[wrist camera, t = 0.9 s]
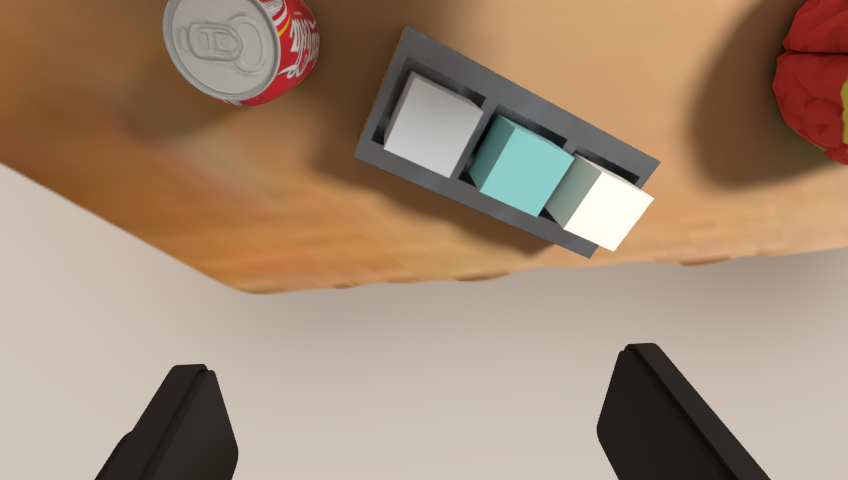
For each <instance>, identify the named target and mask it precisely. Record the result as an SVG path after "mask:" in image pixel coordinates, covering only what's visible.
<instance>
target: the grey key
mask: <svg viewBox="0 0 848 480" xmlns="http://www.w3.org/2000/svg"><path fill="white" fill-rule="evenodd" d="M482 114H483V111H482V110H481V109H480V108H479V107H478V106H476V105H475V104H474V103H473V102H472V101H471V100H469V99H467V98H465V97H464V96H462V95H460V94H458V93H456V92H454V91H452V90H450V89H448V88H446V87H444V86H442V85H440V84H438V83H436V82H434V81H432V80H430V79H428V78H426V77H424V76H422V75H420V74H418V73H416V72H415V71H413V70H411V71H410V74H409V76H408V78H407V80H406V83H405V85H404V87H403V90H402V92H401V94H400V97H399V99H398V101H397V104H396V106H395V108H394V110H393V113H392V115H391V117H390V120H389V122H388V124H387V127H386V129H385V131H384V149H385V150H387V151H389V152H391V153H394V154H396V155H398V156H400V157H403V158H405V159H407V160H409V161H412V162H414V163H416V164H418V165H421V166H423V167H425V168H427V169H430V170H432V171H434V172H436V173H439V174H441V175H443V176H445V177H448V178H449V177H450V175H451V173H452V172H453V170H454V168H455V166H456V164H457V162H458V160H459V158H460V156H461V154H462V152H463V151H464V149H465V147H466V145H467V143H468V141H469V139H470V137H471V135H472V133H473V131H474V130H475V128H476V126H477V124H478V122H479V120H480V118H481V116H482Z"/></svg>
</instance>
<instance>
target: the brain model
mask: <svg viewBox="0 0 848 480" xmlns="http://www.w3.org/2000/svg"><path fill="white" fill-rule="evenodd" d="M782 44H783V46H784V47H785V49H786V50H788V51H786V52H785V53H783V54H782V55H780V56H779V57H778V58H777V71H776V74H775V77H774V80H773V83H772V88H773V91H774V94H775V97H776V100H777V103H778V106H779V109H780V113H781V116H782V118H783V119H784V121H785V122H786V124H787V126H788V127H790V128H791V129H792V130H793V131H795V132H796V133H797V134H799V135H800V136H801V137H802V138H804V139H805V140H807V141H808V142H810V143H811V144H813V145H815V146H816V147H818V148H820V149H821V150H823V151H824V153H825V154H826V155H827V156H828V157H829V158H831V159H832V160H834V161H837V162H839V163H842V164H845V165H848V0H807V1H806V2H805V3H804V4H803V5H802V6H801V8H800V9H799V10H798V11H797V12H796V14H795V16H794V19H793V23H792V26H791V29H790V31H789V32H788V34H787V36H786V37H785V39H784V41H783V42H782Z"/></svg>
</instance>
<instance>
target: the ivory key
mask: <svg viewBox="0 0 848 480" xmlns="http://www.w3.org/2000/svg"><path fill="white" fill-rule="evenodd" d="M572 157H574V158H575V159H574V160H573V162H572V163H571V165H570V166H569V168H568V169H567V171H566V173H565V174H564V176H563V177H562V179H561V180H560V182H559V183H558V185H557V187H556V188H555V190H554V191H553V193H552V194H551V196H550V197H549V199H548V200H547V202H546V204H545V205H544V207H545V208H546V210H547V211H548V212H549V213H550V214H551V215H552V216H553V218H554V219H555V220H556V221H557V222H558V223H559V225H560V226H561V227H562V228H563V229H564V230H567V231H569V232H571V233H573V234H576V235H578V236H580V237H582V238H585V239H587V240H589V241H591V242H594V243H596V244H598V245H600V246H603V247H605V248H607V249H609V250H612V251H614V250H615V249H616V248H617V246H618V245H619V244H620V243H621V241H622V240H623V239H624V237H625V236H626V235H627V233H628V232H629V231H630V229H631V228H632V227H633V225H634V224H635V223H636V221H637V220H638V219H639V218H640V216H641V215H642V214H643V212H644V211H645V210H646V208H647V207H648V206H649V204H650V203H651V202H652V200H653V199H654V198H653V197H651V196H650V195H648V194H647V193H645V192H644V191H642V190H641V189H639V188H637V187H636V186H634V185H633V184H631V183H630V182H628V181H627V180H625V179H624V178H622V177H620V176H618V175H616V174H614V173H613V172H611V171H609V170H607V169H605V168H603V167H601V166H599V165H597V164H595V163H593V162H591V161H589V160H587V159H585V158H583V157H581V156H579V155H577V154H575V153H574V155H573V156H572Z"/></svg>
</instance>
